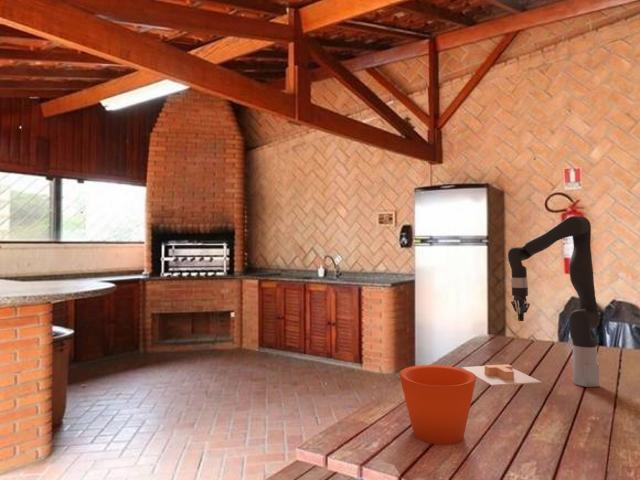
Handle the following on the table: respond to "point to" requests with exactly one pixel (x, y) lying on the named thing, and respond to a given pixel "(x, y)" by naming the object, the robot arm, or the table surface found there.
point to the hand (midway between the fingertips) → (520, 320)
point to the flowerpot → (438, 401)
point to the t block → (500, 371)
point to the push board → (497, 381)
